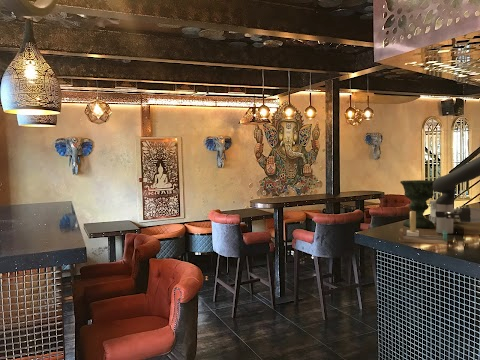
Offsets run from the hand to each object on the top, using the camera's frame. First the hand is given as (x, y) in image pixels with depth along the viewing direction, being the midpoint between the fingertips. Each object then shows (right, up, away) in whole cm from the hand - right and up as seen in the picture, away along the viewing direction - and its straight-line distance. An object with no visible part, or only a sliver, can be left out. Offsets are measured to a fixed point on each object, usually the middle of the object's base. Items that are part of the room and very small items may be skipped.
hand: (435, 214), depth 212 cm
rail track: (-5, -15, +3) cm, 16 cm away
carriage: (-10, -12, +5) cm, 16 cm away
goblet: (+14, -12, +51) cm, 54 cm away
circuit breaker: (+36, -11, +65) cm, 75 cm away
